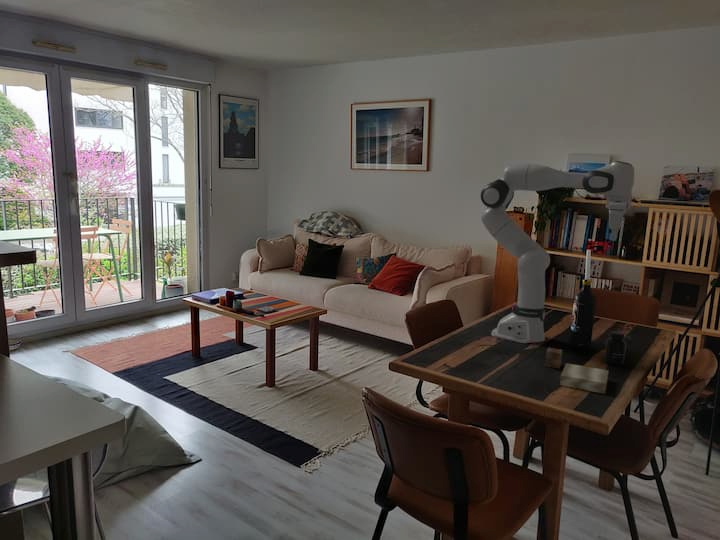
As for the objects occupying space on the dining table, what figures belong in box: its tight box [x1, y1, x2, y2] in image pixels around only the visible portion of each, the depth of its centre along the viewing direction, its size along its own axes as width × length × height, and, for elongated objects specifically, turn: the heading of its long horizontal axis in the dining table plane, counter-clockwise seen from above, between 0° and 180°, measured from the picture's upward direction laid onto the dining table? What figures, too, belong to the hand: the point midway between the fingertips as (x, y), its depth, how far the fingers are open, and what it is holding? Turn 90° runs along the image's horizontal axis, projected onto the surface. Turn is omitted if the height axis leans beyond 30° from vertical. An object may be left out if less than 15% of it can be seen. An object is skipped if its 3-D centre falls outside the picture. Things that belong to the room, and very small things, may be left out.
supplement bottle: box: [603, 330, 627, 366], centre depth 208 cm, size 7×7×12 cm
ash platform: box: [559, 362, 609, 395], centre depth 188 cm, size 14×14×4 cm
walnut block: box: [544, 347, 563, 370], centre depth 204 cm, size 5×5×6 cm
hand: (614, 239), depth 215 cm, fingers open, 8 cm apart
